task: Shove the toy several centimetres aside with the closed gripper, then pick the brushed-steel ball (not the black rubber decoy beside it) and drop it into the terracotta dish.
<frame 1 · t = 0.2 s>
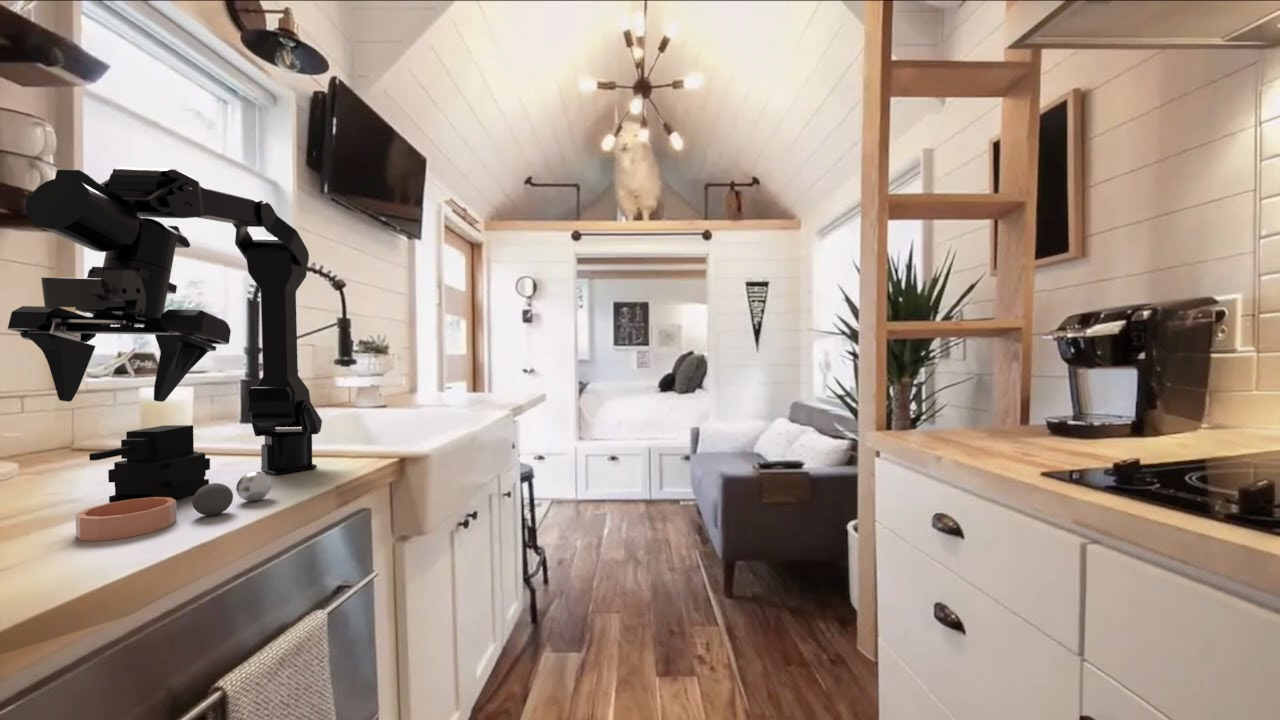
hand: (112, 401, 58), 15 cm above the counter, tool pointing down, fingers open, 9 cm apart
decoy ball: (213, 499, 67), point 2 cm above the counter
toy: (146, 505, 72), on the counter
steel ball: (254, 486, 73), point 2 cm above the counter
dish: (128, 528, 62), on the counter
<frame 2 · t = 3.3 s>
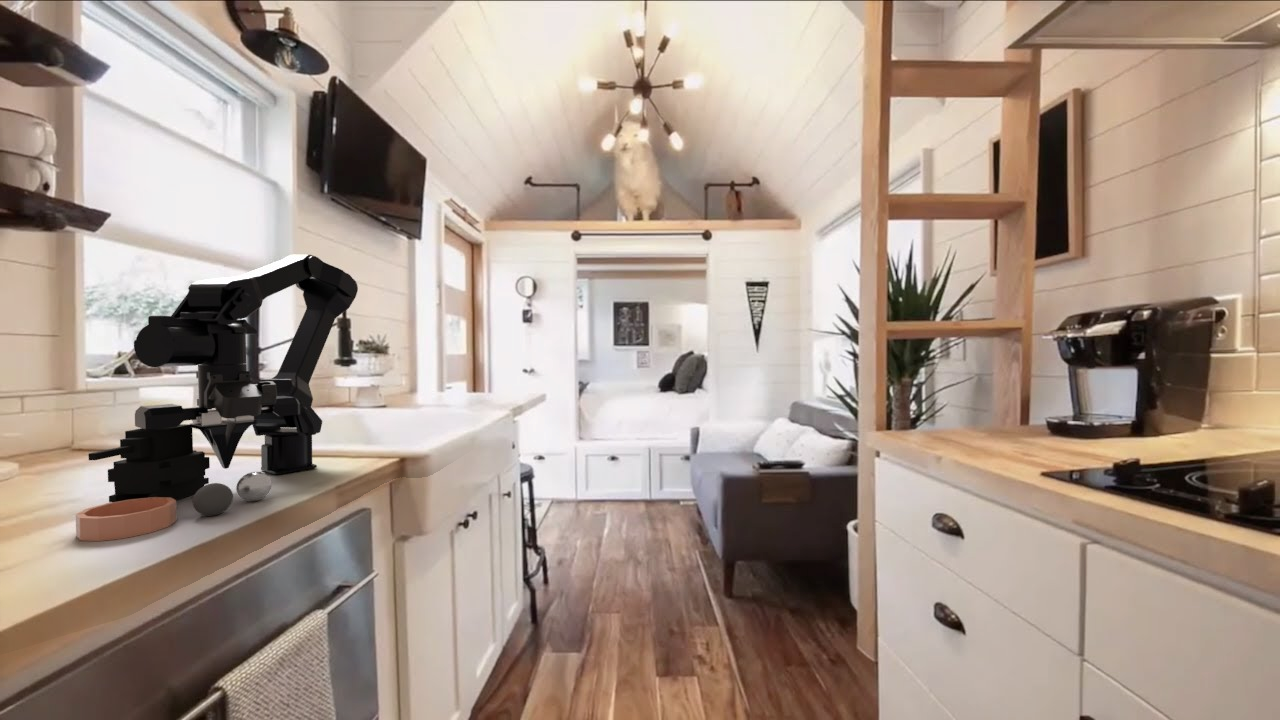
hand: (225, 468, 79), 3 cm above the counter, tool pointing down, fingers closed
toy: (146, 504, 72), on the counter, touching gripper
everything else where it was.
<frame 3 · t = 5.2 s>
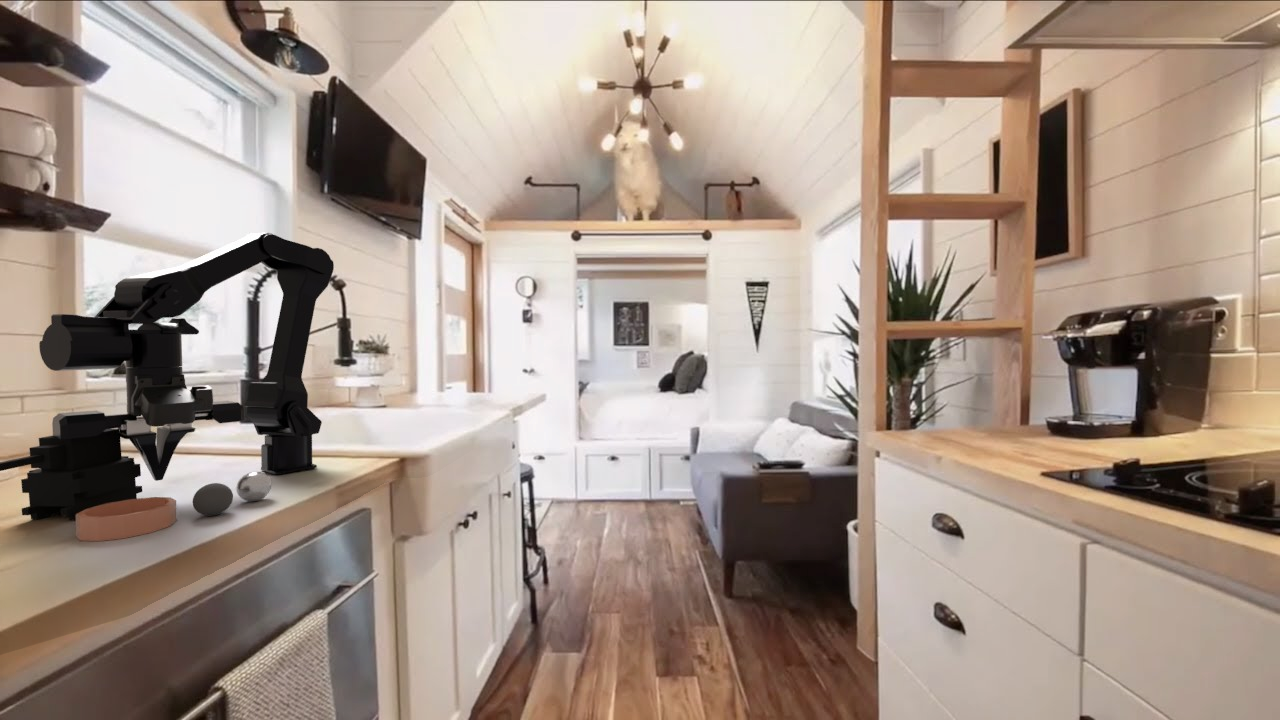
hand: (158, 479, 73), 3 cm above the counter, tool pointing down, fingers closed
toy: (64, 517, 66), on the counter, touching gripper
everything else where it was.
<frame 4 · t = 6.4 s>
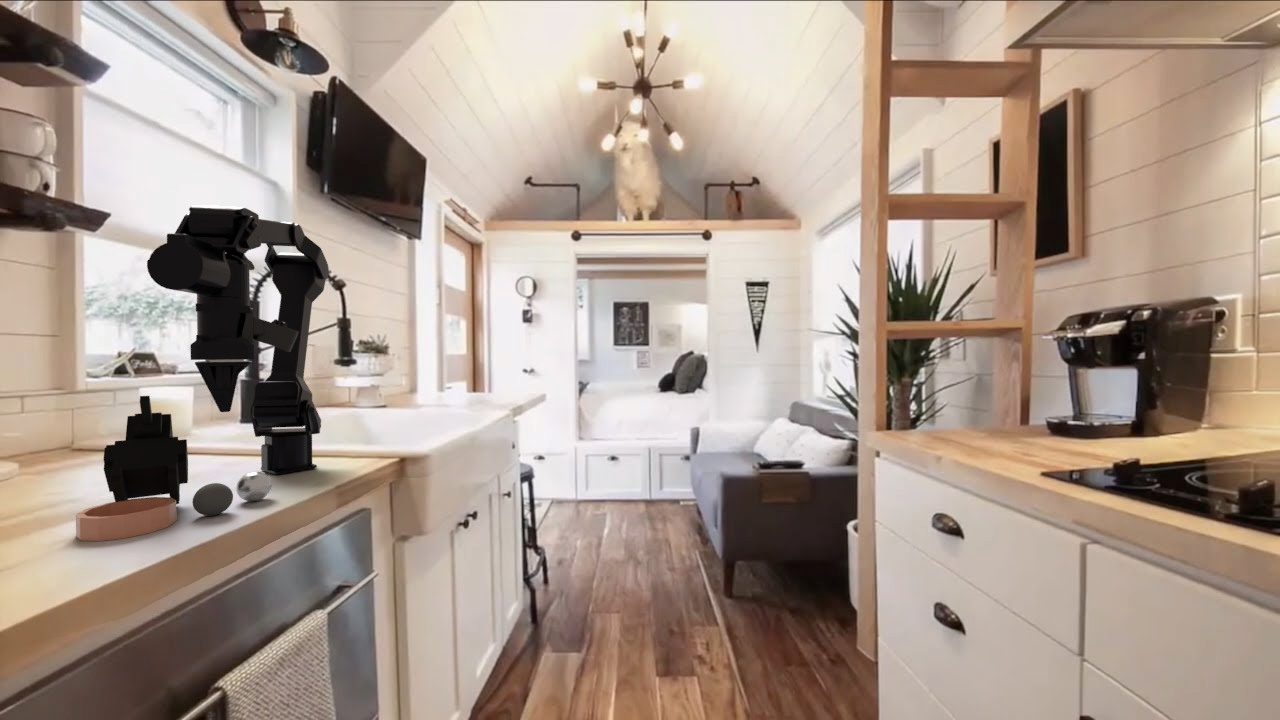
hand: (225, 411, 73), 12 cm above the counter, tool pointing down, fingers closed
toy: (145, 486, 64), point 4 cm above the counter
everything else where it was.
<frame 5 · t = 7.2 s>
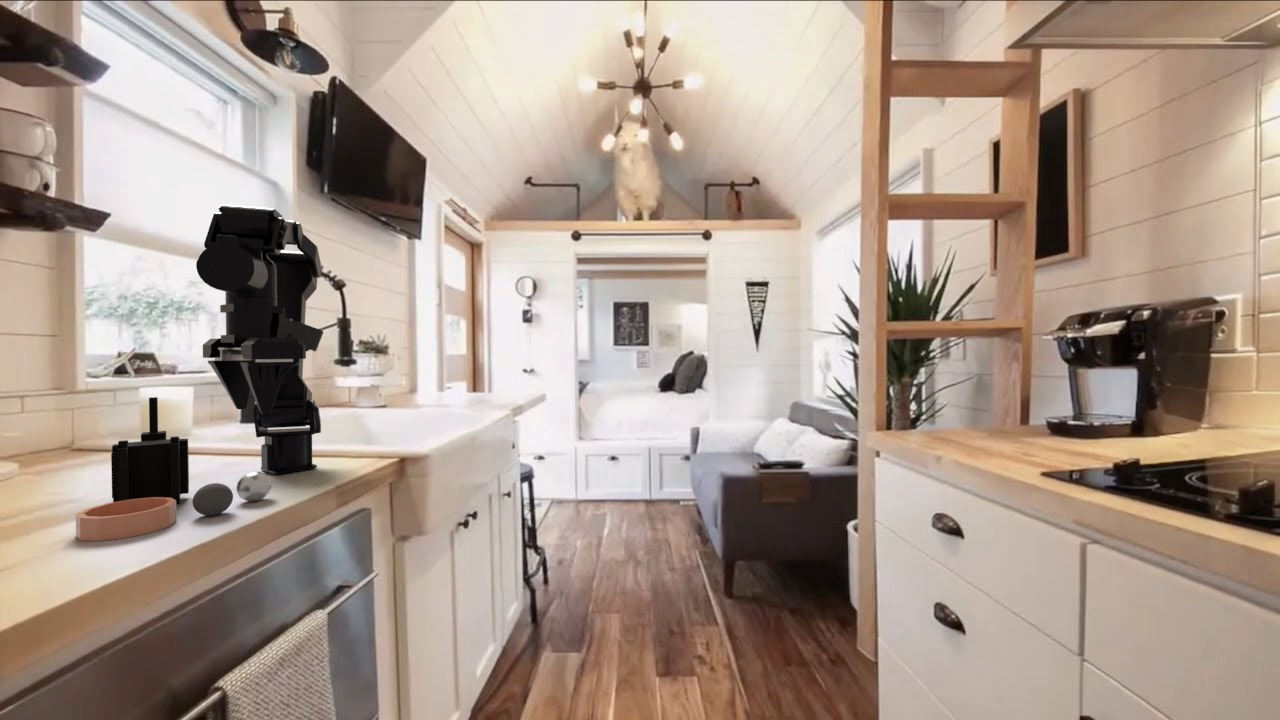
hand: (253, 411, 73), 12 cm above the counter, tool pointing down, fingers open, 8 cm apart
toy: (148, 456, 69), point 7 cm above the counter
everything else where it was.
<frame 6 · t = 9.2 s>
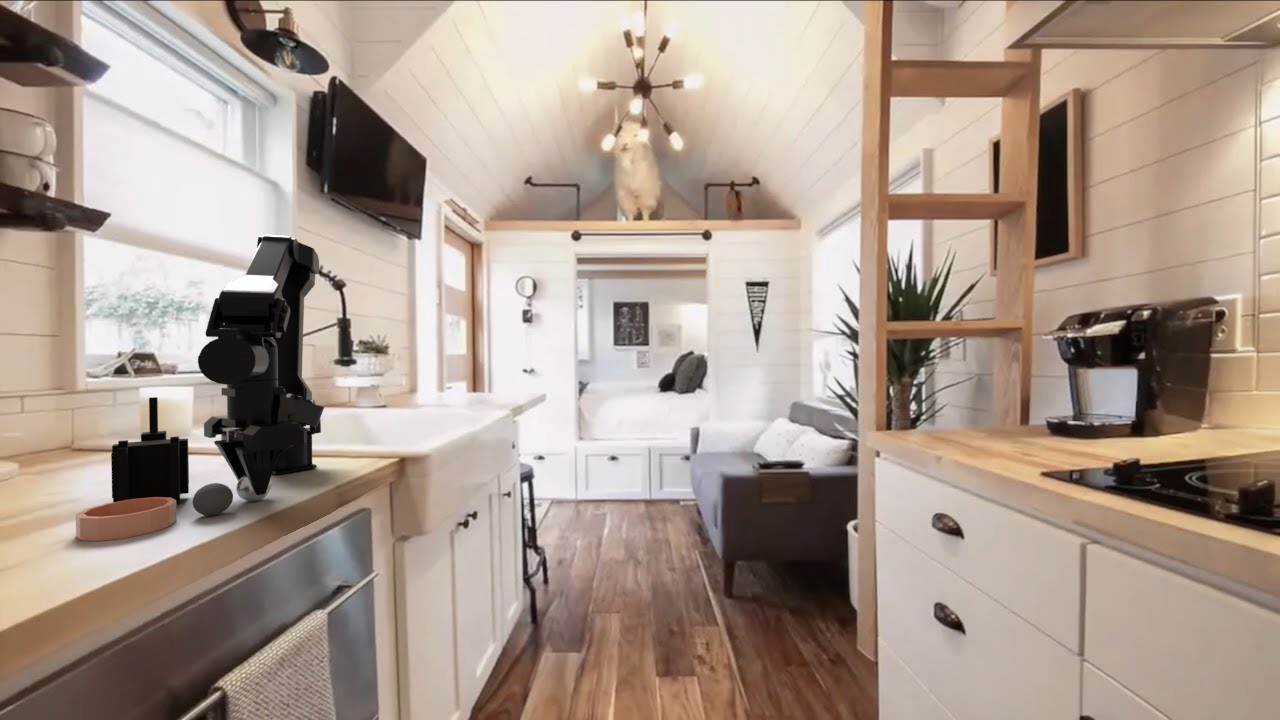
hand: (254, 492, 73), 1 cm above the counter, tool pointing down, fingers closed on steel ball, 4 cm apart
steel ball: (254, 486, 73), point 2 cm above the counter, touching gripper
everything else where it was.
when the fingers open (4 cm above the counter, at t = 12.7 s): steel ball drops 3 cm, resting on dish.
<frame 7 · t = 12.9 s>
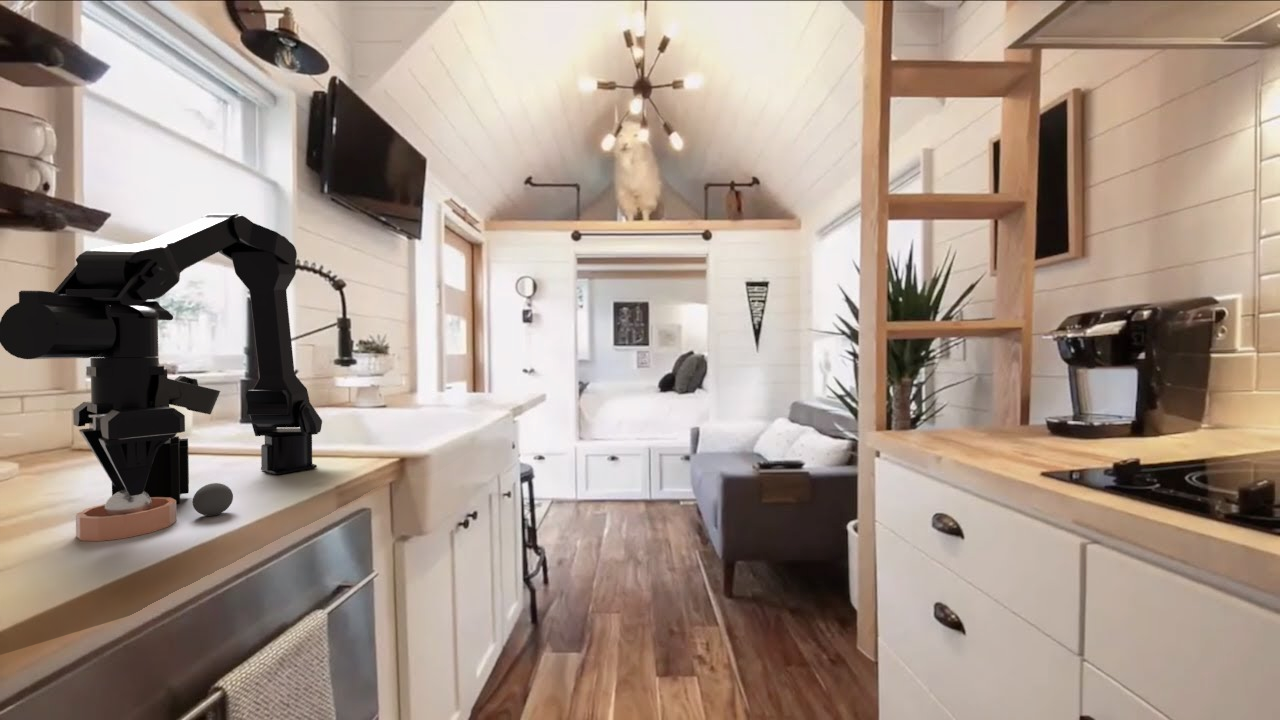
hand: (128, 490, 62), 4 cm above the counter, tool pointing down, fingers open, 6 cm apart
steel ball: (128, 506, 62), point 3 cm above the counter, touching dish
everything else where it was.
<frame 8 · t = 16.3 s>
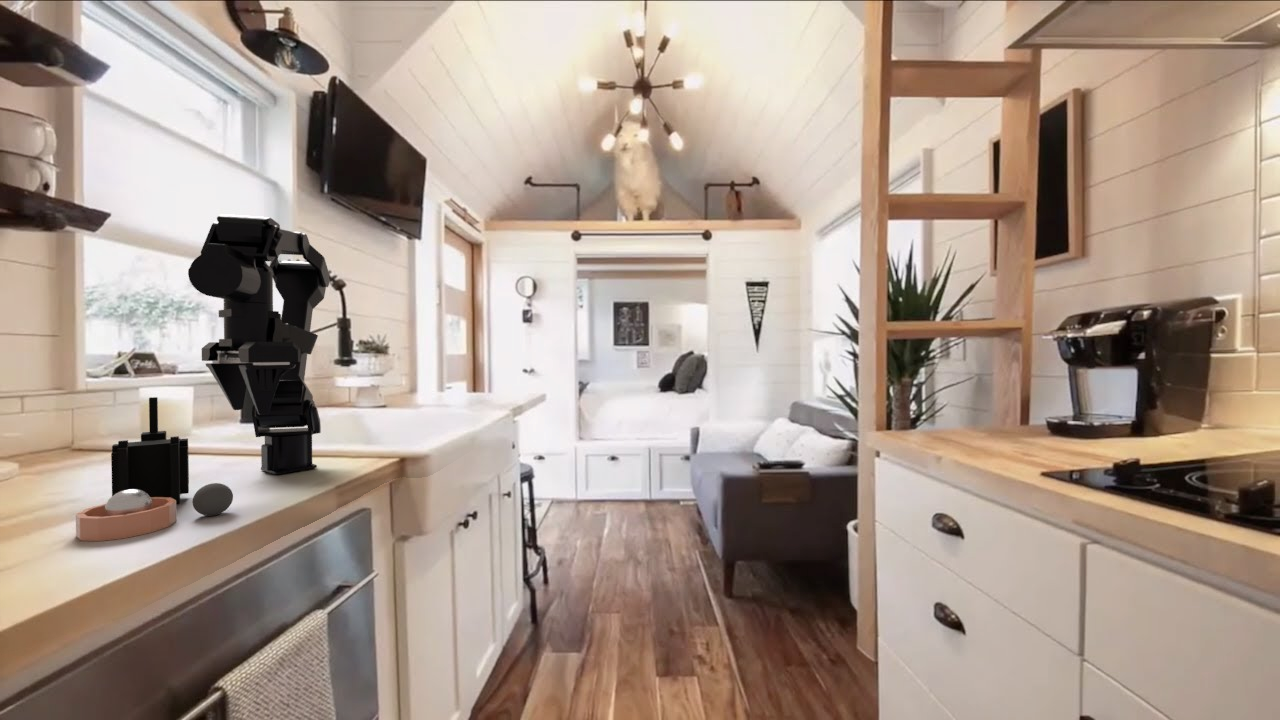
hand: (250, 411, 76), 12 cm above the counter, tool pointing down, fingers open, 9 cm apart
steel ball: (129, 506, 62), point 3 cm above the counter, tilted 7°, touching dish
everything else where it was.
at the end: steel ball 0.3 cm off-centre on the dish, point 2.6 cm above the dish's base; toy moved 8.4 cm from its start; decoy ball moved 0.0 cm from its start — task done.
